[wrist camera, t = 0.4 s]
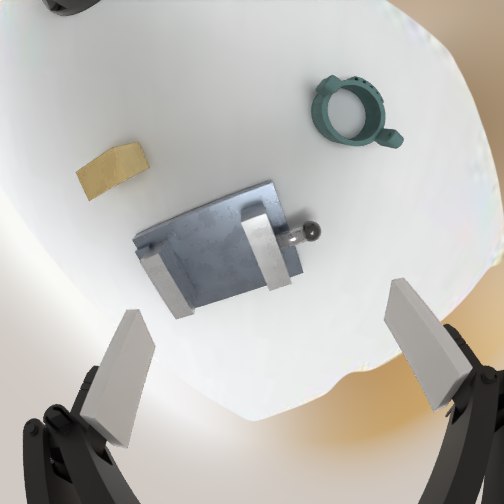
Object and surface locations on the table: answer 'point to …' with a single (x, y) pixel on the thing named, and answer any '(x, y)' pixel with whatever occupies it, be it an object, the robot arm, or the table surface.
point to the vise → (210, 251)
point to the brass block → (112, 169)
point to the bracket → (372, 107)
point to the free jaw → (273, 243)
